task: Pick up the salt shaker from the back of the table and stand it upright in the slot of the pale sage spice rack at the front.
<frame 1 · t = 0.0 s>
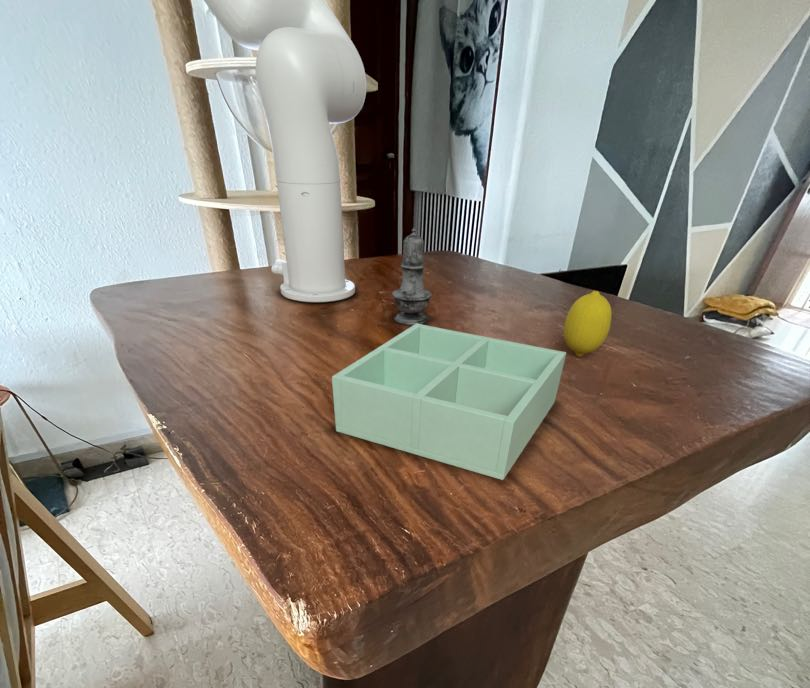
lemon: (578, 358, 65), on the table
spice rack: (451, 416, 51), on the table
salt shaker: (411, 320, 75), on the table
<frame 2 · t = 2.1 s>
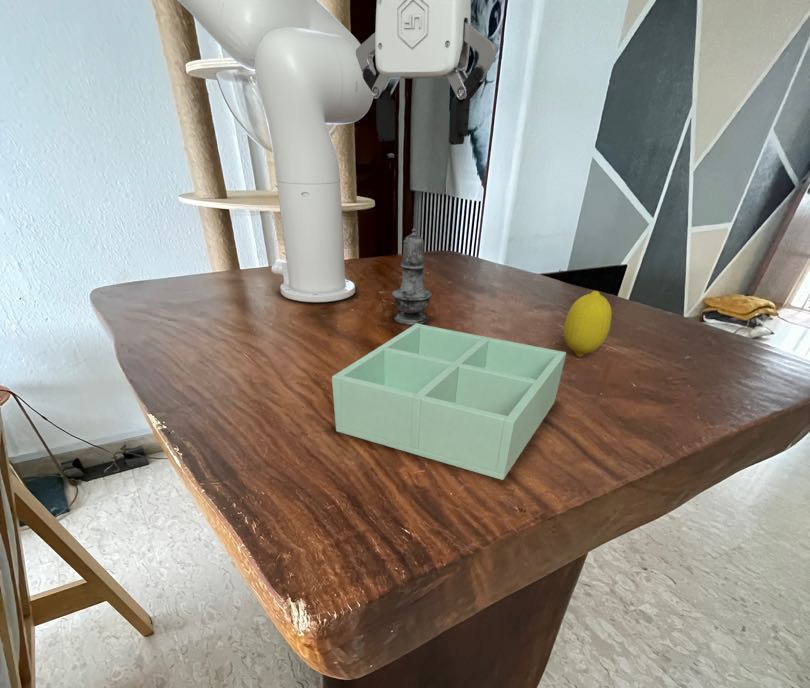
hand: (420, 142, 61), 21 cm above the table, tool pointing down, fingers open, 9 cm apart
nothing on the table moved.
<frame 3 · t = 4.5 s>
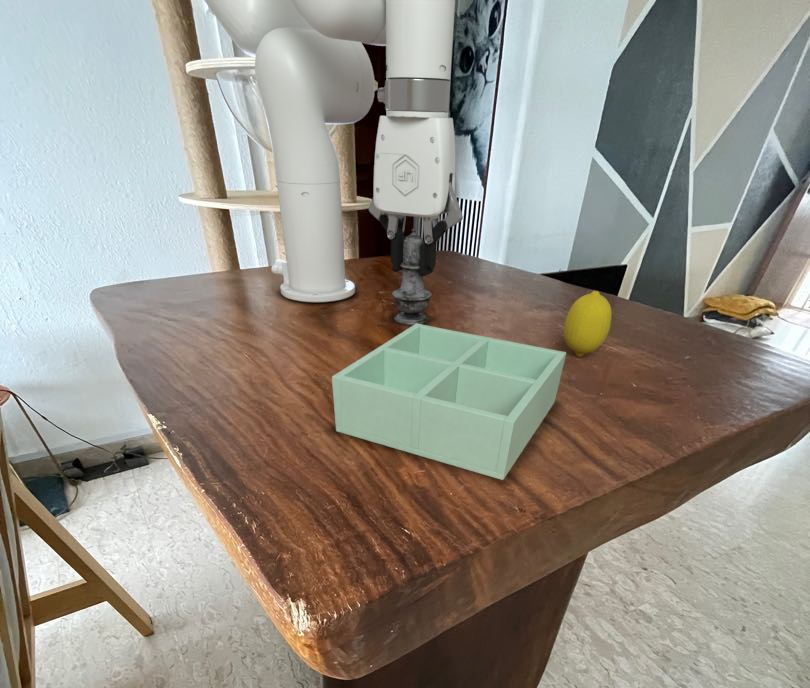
hand: (412, 270, 71), 7 cm above the table, tool pointing down, fingers closed on salt shaker, 3 cm apart
salt shaker: (411, 320, 75), on the table, touching gripper
everything else where it was.
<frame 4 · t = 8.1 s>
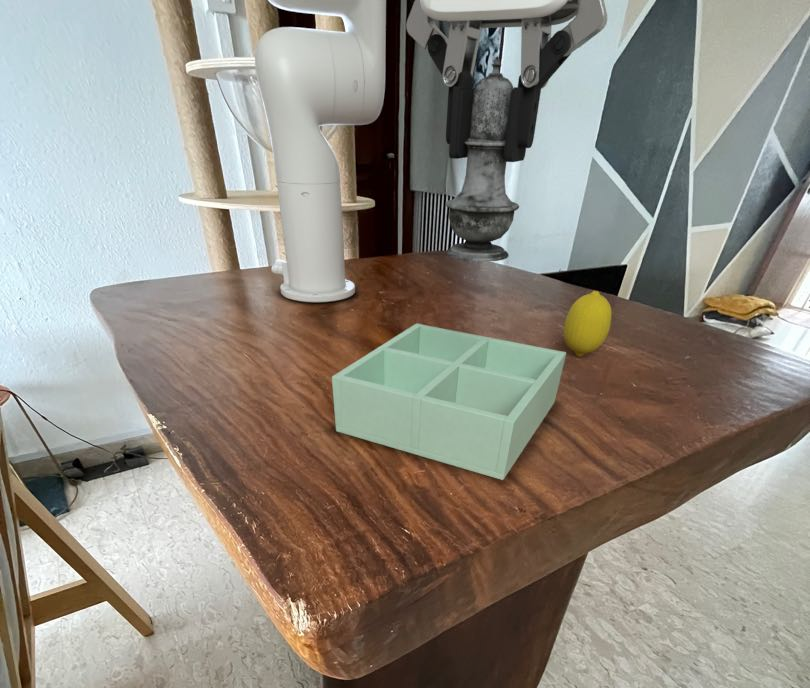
hand: (487, 156, 37), 22 cm above the table, tool pointing down, fingers closed on salt shaker, 3 cm apart
salt shaker: (476, 257, 42), point 15 cm above the table, touching gripper
everything else where it was.
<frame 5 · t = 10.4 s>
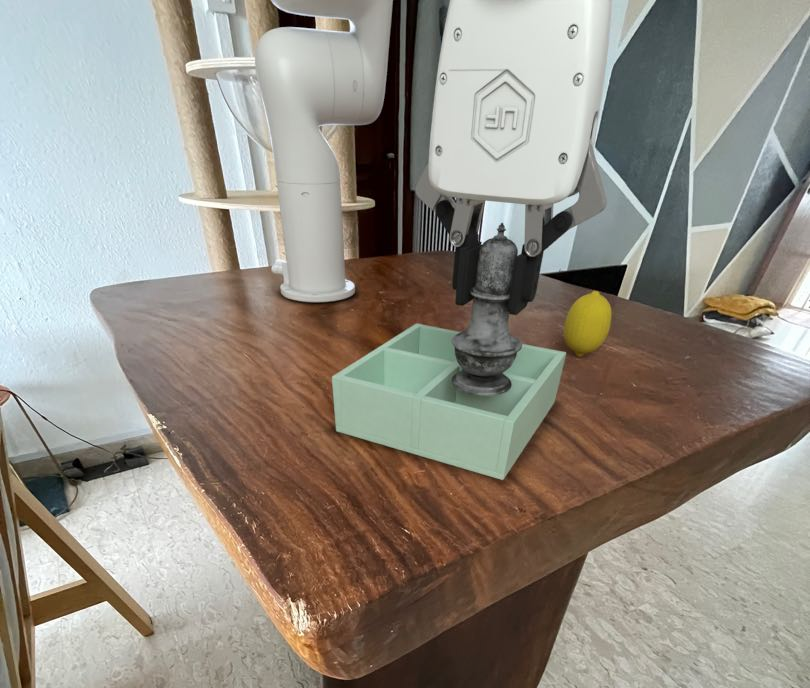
hand: (491, 303, 39), 13 cm above the table, tool pointing down, fingers closed on salt shaker, 3 cm apart
salt shaker: (481, 384, 43), point 6 cm above the table, touching gripper
everything else where it was.
when the fingers open (7 cm above the table, at t = 12.0 s): salt shaker stays where it is, resting on spice rack.
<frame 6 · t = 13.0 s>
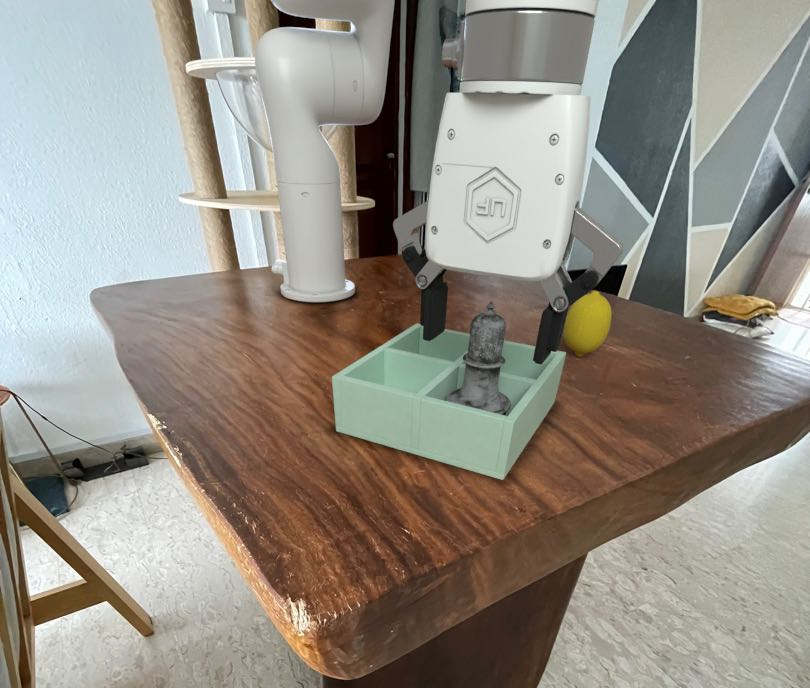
hand: (485, 346, 41), 9 cm above the table, tool pointing down, fingers open, 9 cm apart
salt shaker: (473, 437, 47), point 1 cm above the table, touching spice rack
everything else where it was.
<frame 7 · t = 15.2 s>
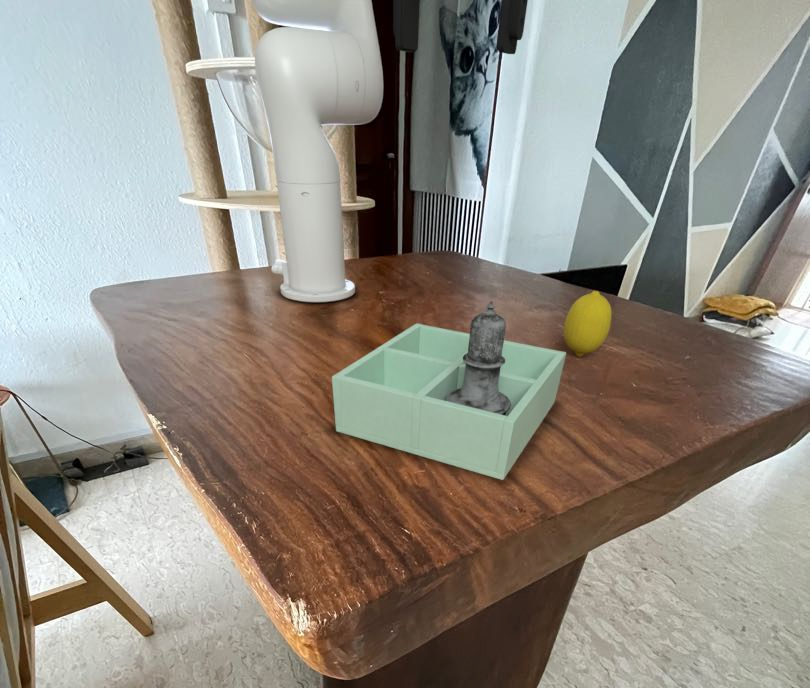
hand: (454, 51, 44), 28 cm above the table, tool pointing down, fingers open, 9 cm apart
nothing on the table moved.
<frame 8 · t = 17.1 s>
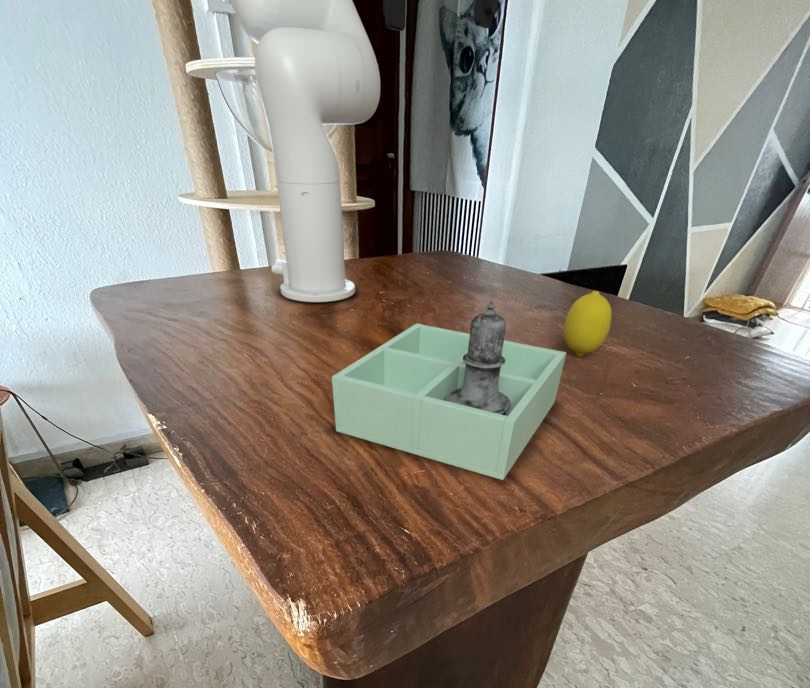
hand: (437, 27, 49), 30 cm above the table, tool pointing down, fingers open, 9 cm apart
nothing on the table moved.
at the end: salt shaker 0.2 cm from the target spot in the spice rack, point 0.6 cm above the spice rack's base; salt shaker tilted 0° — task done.
